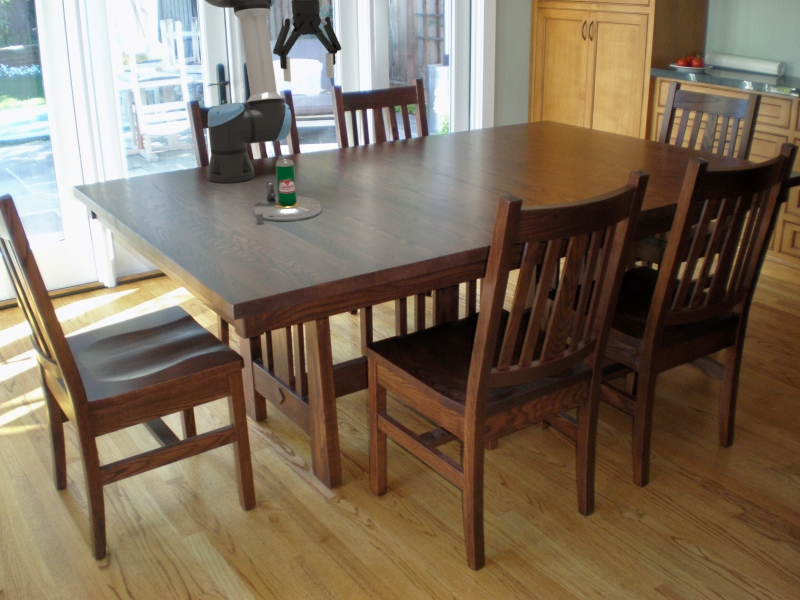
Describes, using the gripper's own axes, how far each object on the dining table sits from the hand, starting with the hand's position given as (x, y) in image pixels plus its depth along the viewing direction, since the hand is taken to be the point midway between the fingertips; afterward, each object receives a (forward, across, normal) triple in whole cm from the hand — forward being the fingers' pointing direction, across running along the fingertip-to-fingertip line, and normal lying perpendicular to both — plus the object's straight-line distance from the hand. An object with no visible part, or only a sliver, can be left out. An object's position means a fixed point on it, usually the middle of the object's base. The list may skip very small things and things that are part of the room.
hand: (309, 79), depth 231 cm
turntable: (+33, -15, -12) cm, 38 cm away
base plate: (+35, -15, -12) cm, 40 cm away
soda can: (+31, -15, -12) cm, 37 cm away
